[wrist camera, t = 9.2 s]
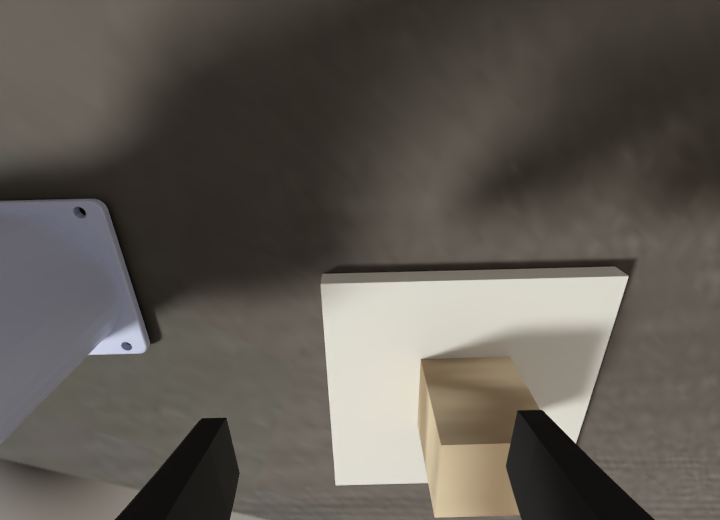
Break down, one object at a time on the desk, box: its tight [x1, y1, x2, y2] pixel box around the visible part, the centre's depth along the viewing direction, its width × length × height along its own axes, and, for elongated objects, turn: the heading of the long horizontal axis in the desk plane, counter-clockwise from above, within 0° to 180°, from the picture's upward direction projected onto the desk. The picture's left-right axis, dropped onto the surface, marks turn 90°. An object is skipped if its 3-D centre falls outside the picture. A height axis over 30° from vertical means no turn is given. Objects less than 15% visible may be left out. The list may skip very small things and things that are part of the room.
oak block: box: [417, 356, 540, 518], centre depth 18 cm, size 4×4×5 cm
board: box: [321, 267, 629, 485], centre depth 21 cm, size 14×14×1 cm
